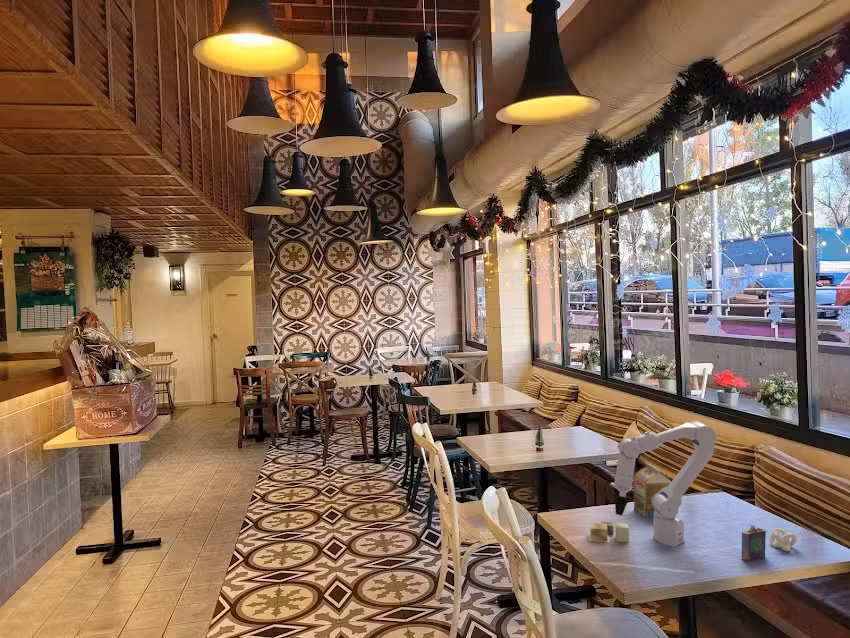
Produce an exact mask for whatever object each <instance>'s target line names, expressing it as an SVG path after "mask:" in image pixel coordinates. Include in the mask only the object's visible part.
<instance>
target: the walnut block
mask: <svg viewBox="0 0 850 638" xmlns="http://www.w3.org/2000/svg"><path fill="white" fill-rule="evenodd" d="M600 524H607V534H608V535H614V524H613V521H605V520H604V521H603V520H601V521H600Z"/></svg>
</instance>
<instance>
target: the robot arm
mask: <svg viewBox="0 0 850 638" xmlns="http://www.w3.org/2000/svg"><path fill="white" fill-rule="evenodd" d="M678 439H679V440H680V439H688V440H691V442H692V445H693V448H694V451H693V453H692V454H691V455H690V457H689V458H688V459H687V461H686V462H685V464H683V466H682V467H681V469H680V470H679V471H678V472H677V474H676V475H675V476H674V477H673V479H672V481H671V483H670V484H669V486H667V487H665V488H663V489H662V490H661V491H660V492H658V493H656V494H655V495H654V496H653V497H652V505H653V507H654V508H655V510H654V518H653V539H654V540H655V541H657V542H658V543H660V544H663V545H666V546H670V547H673V548H674V547H677V546H679V545H680V544H683V543H686V541H685V539H684V538H685V525H684V521H683V520H682V519H680V518H679V517H677V515H678V513H679V509H680V507H681V505H682V503H683V499H682V498H683V496H684V494H685V493H686V492H687V490H688V489H689V488H690V487H691V485H692V484H693V482H694V481H695V480H696V478H697V477H698V476H699V475H700V473H701V472H702V471H703V469H705V467H706V466H707V464H708V462H710V460H711V459H712V457H713V456H714V451H715V443H716V442H717V440H718V438H717V435H716V432H715V430H714V429H713V428H712V426H709V425H706V424H704V423H703V422H701V421H699V420H693V421H690V422H685V423H683V424H681V425H678V426H674V427H673V428H669V429H667V430H664V431H662V432H661V431H660V432H659V433H655V432H653V431H652V432H651V431H645V432H644V434H641V435H637V436H631V438H626V437H625V438H623V439H621V440H620V442H619V443H618V444H617V449H618V451H619V453H618V459H617V466H616V472H615V478H614V482H610V486H611V487H613V498H614V501H615V502H614V504H615V508H614V509H615V515H617V516H624V515H623V514H624V513H625V509H626V506H627V505H628V503H629V502H630V500H631V497H630V496H628V495H629V493H630V492H631V491H632V490H633V488H632V485H633V481H634V475H635V467H636V459H637V457H639V455H640V454H643V453H646V452H651V451H653V450H656V449H658V448H659V447H660V445H661V444H663V443H667V442H671V441H674V440H678Z"/></svg>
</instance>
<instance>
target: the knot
mask: <svg viewBox="0 0 850 638" xmlns="http://www.w3.org/2000/svg"><path fill="white" fill-rule="evenodd" d="M780 534H782V536H781V535H780ZM790 538H791V539H790ZM768 539H769V544H770V546H772V548H779V547H780V548H781V549H782V550H783V551H784V552H790V550H791V547H792V546H794V545H795V544H796V543H797V541H798V538H797V535H796V534H794V533H791V532H789V533H788V532H787V531H786V530H785V529H783V528H779V527H778V528H774V530H773V531H772V532H771V534H770V535H769V538H768ZM775 540H776V542H775Z"/></svg>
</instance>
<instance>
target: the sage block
mask: <svg viewBox="0 0 850 638" xmlns="http://www.w3.org/2000/svg"><path fill="white" fill-rule="evenodd" d="M615 540H616V542H619V543H620V542H621V543H630V528H629V524H628V523H619V522H616V523H615Z"/></svg>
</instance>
